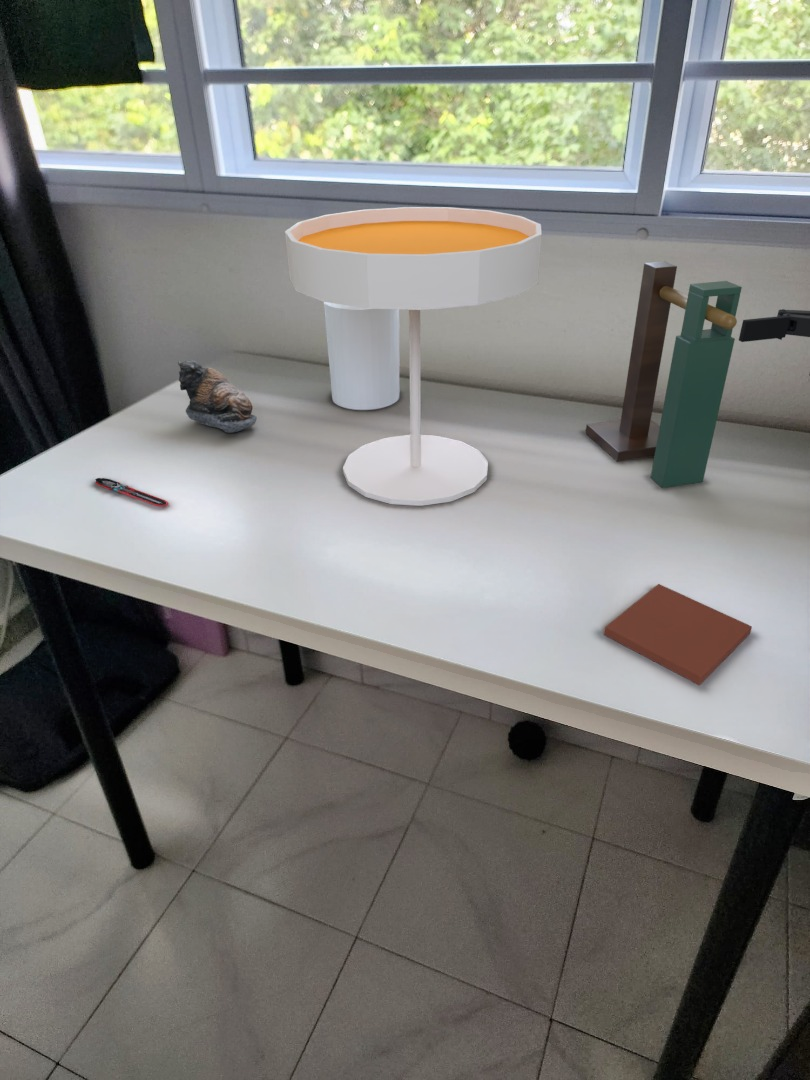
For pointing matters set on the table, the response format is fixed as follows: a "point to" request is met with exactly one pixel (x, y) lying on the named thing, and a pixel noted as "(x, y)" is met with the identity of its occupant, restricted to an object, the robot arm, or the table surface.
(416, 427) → the white stemmed bowl
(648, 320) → the hook stand
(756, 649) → the table surface
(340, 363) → the bottle
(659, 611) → the cork pad
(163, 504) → the pen
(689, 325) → the green block with loop
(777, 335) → the robot arm
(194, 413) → the bison figurine
